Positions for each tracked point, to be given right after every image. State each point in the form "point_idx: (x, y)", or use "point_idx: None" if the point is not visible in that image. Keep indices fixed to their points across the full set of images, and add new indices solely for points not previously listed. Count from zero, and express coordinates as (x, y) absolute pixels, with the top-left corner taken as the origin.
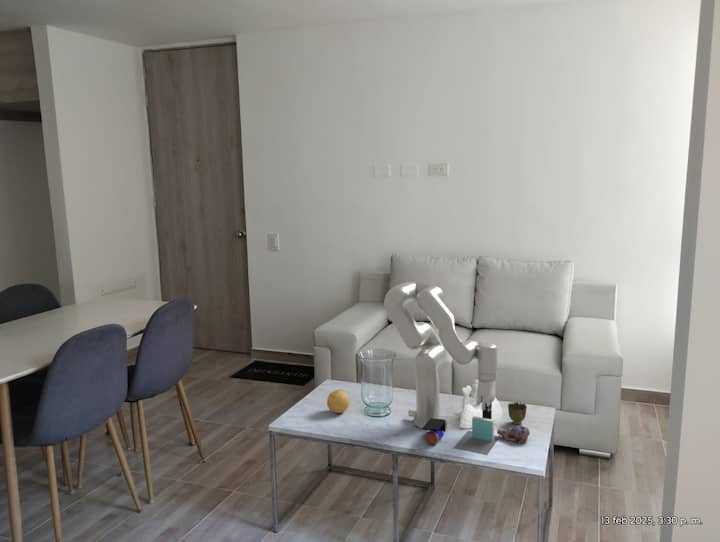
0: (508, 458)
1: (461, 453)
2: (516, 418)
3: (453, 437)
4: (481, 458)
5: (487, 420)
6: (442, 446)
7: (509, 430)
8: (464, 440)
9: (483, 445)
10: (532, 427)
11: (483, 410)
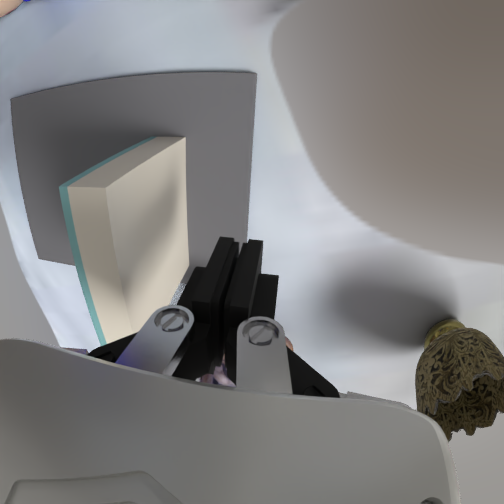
0: (77, 326)
1: (4, 151)
2: (417, 373)
3: (122, 22)
4: (18, 240)
5: (98, 322)
6: (17, 40)
7: (215, 371)
8: (94, 108)
9: None
10: (404, 382)
11: (155, 324)
